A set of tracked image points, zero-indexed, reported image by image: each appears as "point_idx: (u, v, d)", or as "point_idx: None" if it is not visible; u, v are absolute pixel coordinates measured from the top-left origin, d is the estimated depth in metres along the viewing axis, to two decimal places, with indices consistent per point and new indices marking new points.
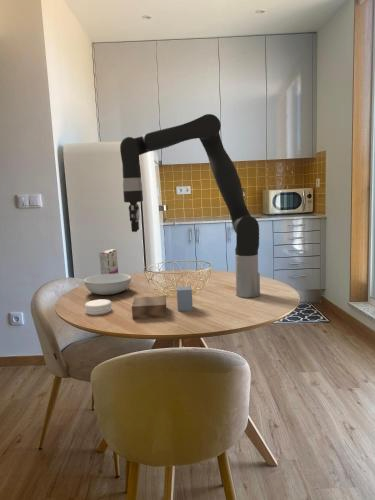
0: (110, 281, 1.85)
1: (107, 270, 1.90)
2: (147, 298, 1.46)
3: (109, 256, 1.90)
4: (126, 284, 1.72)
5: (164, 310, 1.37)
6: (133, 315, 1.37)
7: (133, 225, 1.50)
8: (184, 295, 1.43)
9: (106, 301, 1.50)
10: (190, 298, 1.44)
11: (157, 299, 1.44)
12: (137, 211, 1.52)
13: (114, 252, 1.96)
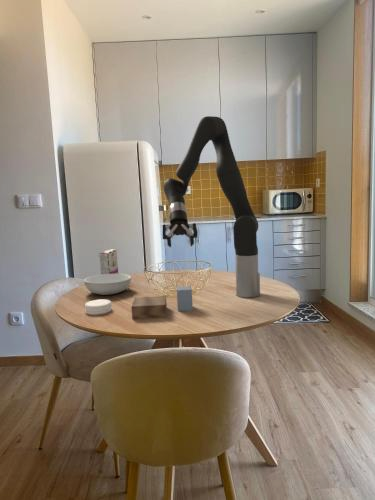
0: (110, 281, 1.85)
1: (107, 270, 1.90)
2: (147, 298, 1.46)
3: (109, 256, 1.90)
4: (126, 284, 1.72)
5: (164, 310, 1.37)
6: (133, 315, 1.37)
7: (167, 241, 1.56)
8: (184, 295, 1.43)
9: (106, 301, 1.50)
10: (190, 298, 1.44)
11: (158, 299, 1.44)
12: None
13: (114, 252, 1.96)
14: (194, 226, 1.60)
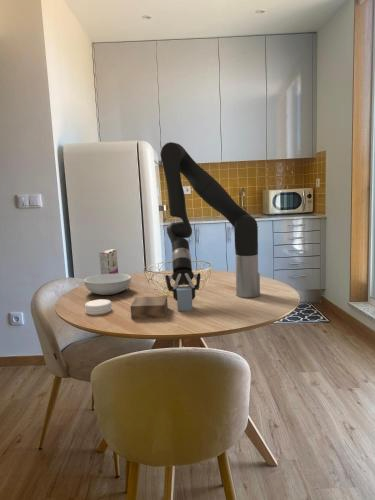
0: (110, 281, 1.85)
1: (107, 270, 1.90)
2: (148, 298, 1.46)
3: (109, 256, 1.90)
4: (126, 284, 1.72)
5: (163, 310, 1.37)
6: (132, 315, 1.37)
7: (173, 294, 1.46)
8: (184, 295, 1.43)
9: (106, 301, 1.50)
10: (190, 298, 1.44)
11: (158, 299, 1.44)
12: (176, 278, 1.48)
13: (114, 252, 1.96)
14: (198, 277, 1.49)
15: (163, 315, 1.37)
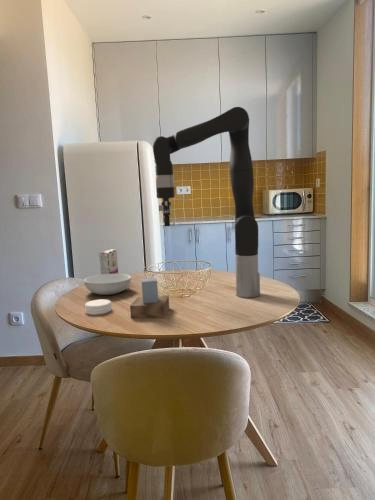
0: (110, 281, 1.85)
1: (107, 270, 1.90)
2: None
3: (109, 256, 1.90)
4: (126, 284, 1.72)
5: (162, 311, 1.37)
6: (131, 314, 1.38)
7: (166, 220, 1.59)
8: (149, 286, 1.39)
9: (106, 301, 1.50)
10: (155, 289, 1.40)
11: (158, 299, 1.44)
12: (169, 206, 1.60)
13: (114, 252, 1.96)
14: None
15: (162, 315, 1.37)
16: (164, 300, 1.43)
